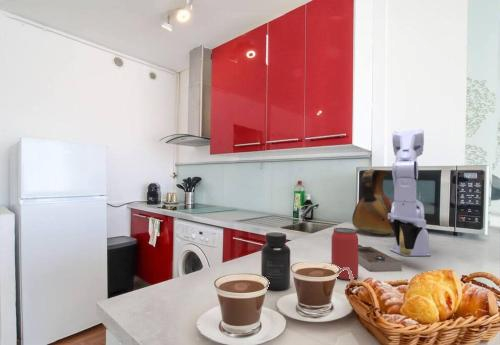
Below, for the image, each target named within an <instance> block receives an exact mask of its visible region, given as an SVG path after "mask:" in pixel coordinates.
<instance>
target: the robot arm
mask: <svg viewBox="0 0 500 345" xmlns="http://www.w3.org/2000/svg"><path fill="white" fill-rule="evenodd" d="M424 132H425V131H424V129H413V130H401V131H400V130H399V131H396V130H394V131H393V133H392V139H391V140H392V148H393V153H394V156H395V161H394V162H393V163H392V167H391V168H392V169H391V175H392V180H393V181H392V182H393V188H394V190H393V191H394V192H393V194H394V195H393V198H394V199H393V200H394V201H392V202H393V203H392V208H391V213H388V219H391V222H389V224H390V226H391V227H392V229H393V231H394V232H393V233H394V234H393V235H394V238H395V248H392V247H391V248H389V250H390V251H393V252H395V253H397V254H399V255H401V256H403V257H413V256H417V257H419V256H420V257H421V256H422V257H424V256H427V257H429V256H431V253H430V238H429V237H430V236H429V232H428V230H427V229H426V228H427V220H426V219H425V208H424V207H425V206H424V204H423V203H422V202H421V201H419V200H418V199H417V180H418V178H419V163H418V157H420V156H421V155H423V152H424V146H425V144H424V142H425V135H424V134H425V133H424ZM415 178H416V179H415ZM400 227H401V229H402V232H403V236H404V245H405V249H411V255H402V254H400Z"/></svg>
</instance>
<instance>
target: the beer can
mask: <svg viewBox="0 0 500 345" xmlns="http://www.w3.org/2000/svg"><path fill="white" fill-rule="evenodd" d="M358 245H359V237H358V234H357V230H356V229H354V228H350V227H349V228H348V227H336V228H333V233H332V235H331V265H332V264H335V265H337V266H339V267H340V268H343V267H349V268H350V270H351V271H352V274H353V277H354V279H353V280H356V279H357V278H359V264H358ZM355 278H356V279H355ZM338 279H340V280H344V281H347V280H348V281H350V280H349V274H348V271H347V270H344V271H342V272H341V273H340V274H339V276H338Z"/></svg>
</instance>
